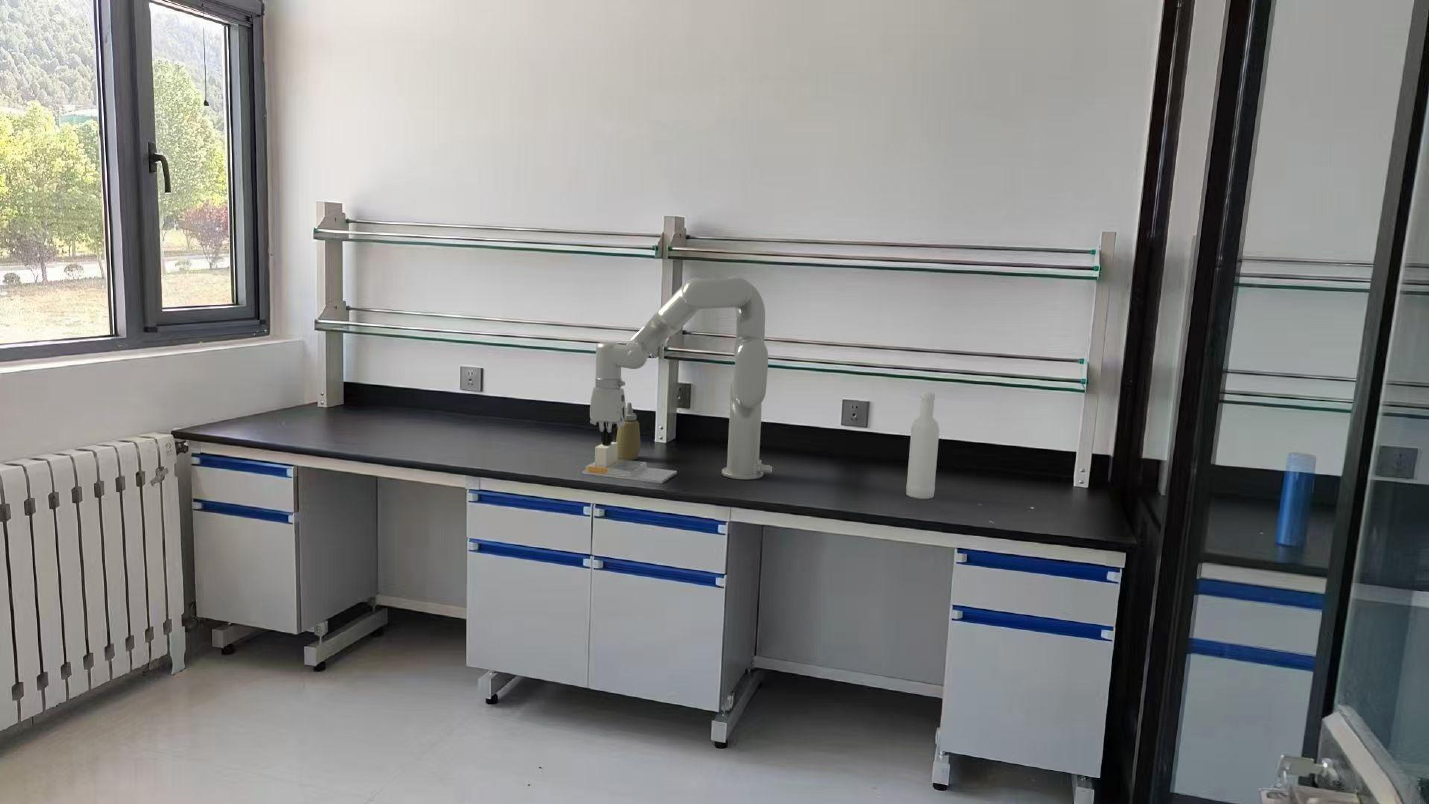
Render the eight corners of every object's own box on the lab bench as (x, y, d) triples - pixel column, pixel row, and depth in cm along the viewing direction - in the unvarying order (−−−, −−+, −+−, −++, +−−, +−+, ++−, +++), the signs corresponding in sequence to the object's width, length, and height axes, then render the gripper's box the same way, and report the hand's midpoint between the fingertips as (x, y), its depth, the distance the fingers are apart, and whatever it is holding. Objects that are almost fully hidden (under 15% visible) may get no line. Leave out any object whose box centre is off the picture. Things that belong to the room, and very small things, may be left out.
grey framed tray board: (676, 473, 288) (676, 465, 288) (661, 483, 276) (662, 475, 275) (600, 464, 295) (600, 456, 295) (582, 473, 283) (582, 465, 282)
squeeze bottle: (636, 462, 300) (638, 405, 297) (611, 460, 301) (613, 404, 298) (643, 456, 308) (645, 401, 305) (619, 454, 309) (620, 399, 306)
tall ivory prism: (617, 465, 291) (617, 442, 290) (605, 471, 283) (606, 448, 281) (606, 463, 292) (607, 441, 291) (594, 470, 284) (595, 447, 282)
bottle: (916, 500, 270) (924, 395, 265) (900, 492, 277) (908, 390, 272) (939, 498, 273) (948, 394, 268) (923, 491, 280) (931, 390, 275)
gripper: (636, 384, 284) (634, 444, 288) (590, 380, 289) (589, 439, 292) (626, 387, 277) (625, 449, 280) (579, 383, 282) (578, 444, 285)
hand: (606, 444), depth 286 cm, fingers closed
